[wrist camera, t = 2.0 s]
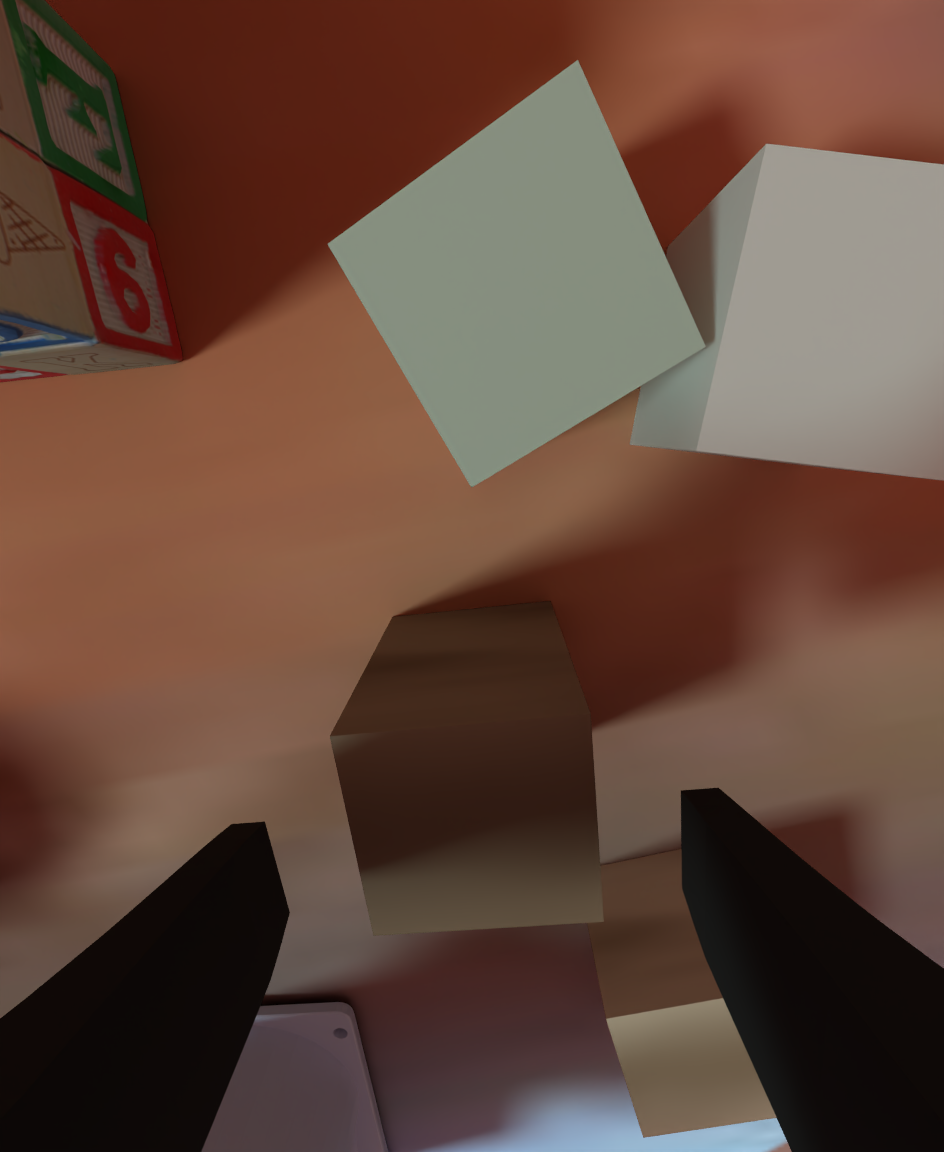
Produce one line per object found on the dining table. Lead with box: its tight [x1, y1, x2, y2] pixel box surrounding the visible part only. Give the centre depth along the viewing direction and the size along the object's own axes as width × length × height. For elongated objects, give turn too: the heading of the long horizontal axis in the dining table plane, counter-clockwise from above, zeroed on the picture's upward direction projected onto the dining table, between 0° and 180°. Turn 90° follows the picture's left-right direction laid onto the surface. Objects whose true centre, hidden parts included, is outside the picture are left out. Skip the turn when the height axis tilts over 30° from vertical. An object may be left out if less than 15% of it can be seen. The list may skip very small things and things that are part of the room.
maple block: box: [587, 849, 777, 1138], centre depth 15 cm, size 4×4×4 cm
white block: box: [630, 144, 944, 481], centre depth 10 cm, size 4×4×4 cm
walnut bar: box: [330, 601, 604, 936], centre depth 12 cm, size 4×4×6 cm
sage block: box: [328, 60, 706, 487], centre depth 10 cm, size 4×4×4 cm
